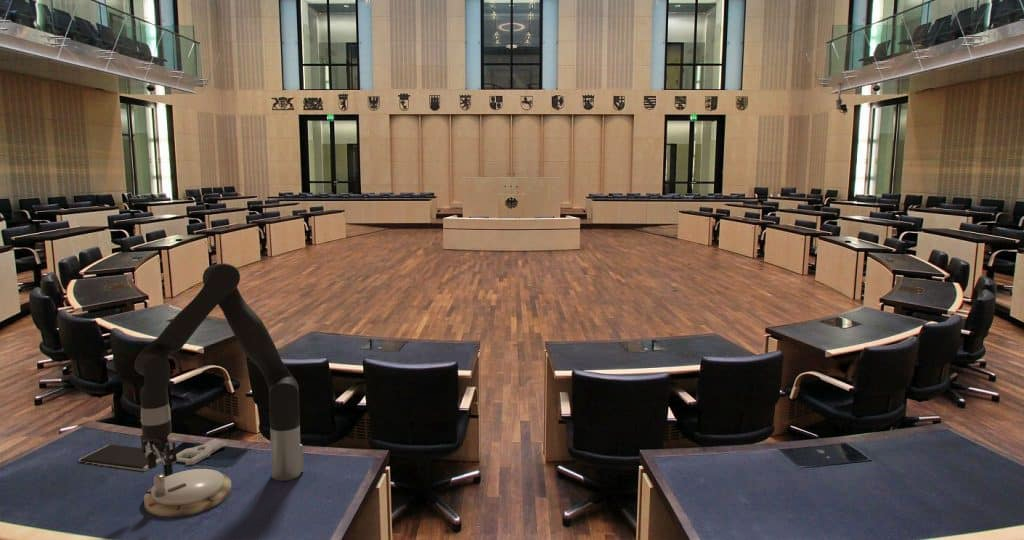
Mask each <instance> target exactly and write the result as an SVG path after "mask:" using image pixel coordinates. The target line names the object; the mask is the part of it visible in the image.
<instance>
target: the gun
mask: <svg viewBox="0 0 1024 540" xmlns="http://www.w3.org/2000/svg"><path fill="white" fill-rule="evenodd" d="M227 445H228V441H227V440H220V439H217V438H213V439H211V440H210V441H208V442H205V443H204V444H202V445H201V444H200V445H197V446H194V447H189V448H185V449H183V450H181V451H179V452H178V453H176V457H177V461H176V462H173V463H172V465H174V464H176V463H178V462H179V463H185V466H194V465H196V464H197V463H199V462H201V461H202V460H204V459H206V458H208V457H210V456H211V454H213V453H215V452H216V451H218V450H220V449H222V448H223V447H226V446H227ZM172 458H173V456H172Z"/></svg>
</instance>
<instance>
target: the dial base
mask: <svg viewBox="0 0 1024 540" xmlns="http://www.w3.org/2000/svg"><path fill="white" fill-rule="evenodd" d="M222 474H223V473H222ZM223 476H224V486H223V488H222V489H221V490H220V491H219V492H218V493H216V494H215V495H213V496H211V497H209V498H207V499H205V500H202V501H199V502H195V503H191V504H186V505H178V506H169V505H162V504H159V503H156V502H155V501H153V499H152V495H151V490H152V487H150V488H149V489H148V490H146V491H145V494H144V497H143V502H144V505H143V506H144V510H146V511H147V512H148V513H149V514H151V515H155V516H159V517H173V518H174V517H182V516H189V515H193V514H197V513H201V512H204V511H207V510H209V509H211V508H214V507H215V506H217V505H219V504H221V503H223V502H224V501H225V500H226V499H228V497H229V496H230V494H231V492H232V480H231V478H230V477H229V476H227V475H226V474H223Z"/></svg>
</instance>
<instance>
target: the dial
mask: <svg viewBox="0 0 1024 540" xmlns="http://www.w3.org/2000/svg"><path fill="white" fill-rule="evenodd" d="M223 486H224V476H223V473H221V472H220V471H217V470H215V469H209V468H208V469H207V468H196V469H195V468H194V469H188V470H183V471H178V472H176V473H172V474H171V475H169V476H164V473H158V474H155V475H154V476H153V486H152V487H151V488H152V490H151V495H152V499H153V501H155V502H156V503H159V504H162V505H169V506H178V505H186V504H191V503H195V502H199V501H202V500H205V499H207V498H209V497H211V496H213V495H215V494H216V493H218V492H219V491H220V490H221V489H222V488H223Z"/></svg>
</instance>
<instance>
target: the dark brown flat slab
mask: <svg viewBox="0 0 1024 540" xmlns="http://www.w3.org/2000/svg"><path fill="white" fill-rule="evenodd" d="M164 453H165V452H164ZM164 453H161V454H164ZM154 455H156V466H157V465H159V464H161V463H163V462H162V460H161V459H160V458H158V455H157V454H156V453H155V454H154ZM171 456H172V455H171ZM165 459H166V456H165ZM78 462H79V463H80V462H86V463H85V464H87V463H92V464H91V465H94V464H97V465H96V466H102V465H103V466H102V467H109V466H111V468H116V467H117V468H118V469H124V470H132V471H133V470H134V471H141V472H146V471H149V470H150V469H149V468H148V464H147V457H146V456H145V453H144V454H143V453H142V448H141V447H137V446H136V447H134V446H129V445H128V446H126V445H118V444H107V445H105V446H103V447H101V448H99V449H97V450H96V451H93V452H91V453H89V454H87V455H85V456H83V457H80V458H79V459H78Z"/></svg>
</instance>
